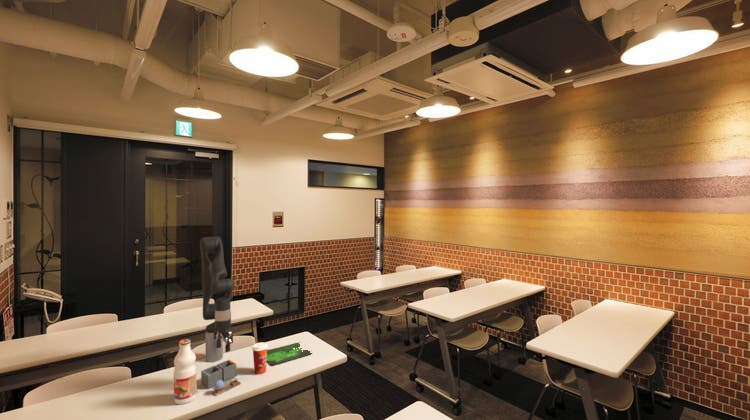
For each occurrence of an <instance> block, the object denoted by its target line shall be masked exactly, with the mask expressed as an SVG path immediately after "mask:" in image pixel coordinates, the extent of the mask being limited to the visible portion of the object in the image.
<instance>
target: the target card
mask: <svg viewBox="0 0 750 420" xmlns="http://www.w3.org/2000/svg"><path fill="white" fill-rule="evenodd" d="M233 380H237V381H239V379H238V378H236V377H233V378H231V379H229V380H227V381H225V382H224V386H223V387H225V386H227V385H229V384H230V382H231V381H233ZM211 389H212V390H215V388H214V387H212V388H211Z"/></svg>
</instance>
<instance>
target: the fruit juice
mask: <svg viewBox="0 0 750 420" xmlns="http://www.w3.org/2000/svg"><path fill="white" fill-rule="evenodd" d="M191 341H192V340H191V339H190V338H185V339H181V340H179V342H178V346H179V349H178V352H177V354H176V355H175V357H174V358H173V359H174V360H173V365H174V370H173V401H174V403H175V404H176V405H185V404H188V403H190V402H192V401H194V400H195V399H196V398H197V394H198V393H197V392H198V389H197V382H198V381H197V366H196V360H197V356H196V353H195V352H194V351H193V350H192V348H191V344H192V342H191Z"/></svg>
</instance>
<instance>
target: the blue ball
mask: <svg viewBox="0 0 750 420" xmlns="http://www.w3.org/2000/svg"><path fill="white" fill-rule="evenodd" d="M223 386H224V382H223V381H222V380H218V381H216V383H215V384H214V388H215V389H216V390H221V389H222V388H223ZM215 389H214V390H215Z"/></svg>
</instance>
